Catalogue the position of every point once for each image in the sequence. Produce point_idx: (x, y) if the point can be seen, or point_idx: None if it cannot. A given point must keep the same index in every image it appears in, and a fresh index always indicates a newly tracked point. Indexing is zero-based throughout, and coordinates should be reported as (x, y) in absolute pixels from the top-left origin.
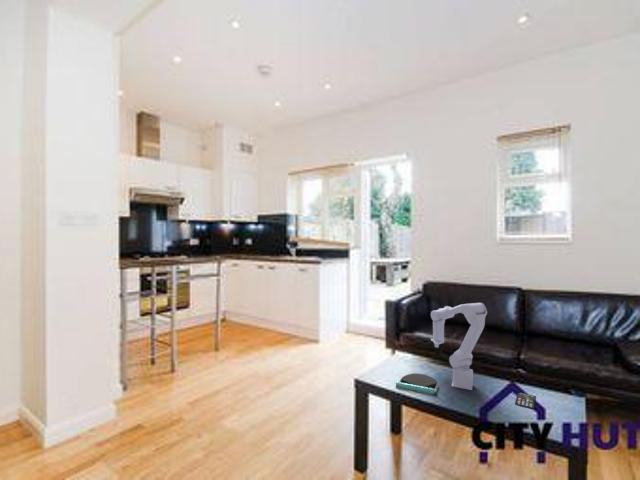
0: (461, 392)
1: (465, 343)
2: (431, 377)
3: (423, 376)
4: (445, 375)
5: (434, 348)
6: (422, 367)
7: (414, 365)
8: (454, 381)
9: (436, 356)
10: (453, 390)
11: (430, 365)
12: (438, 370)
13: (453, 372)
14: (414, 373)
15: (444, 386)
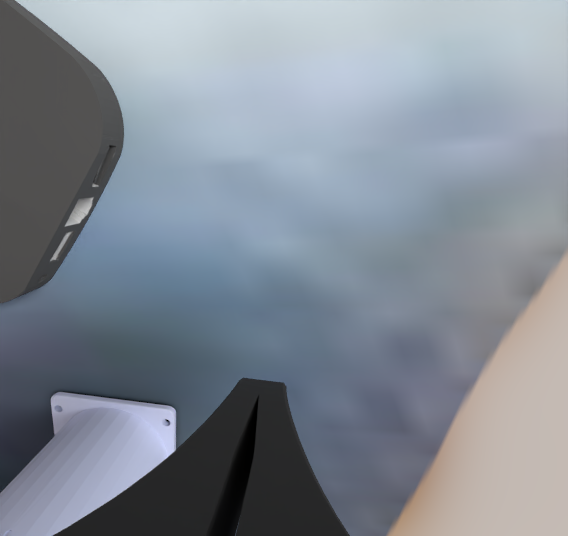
0: (2, 443)
1: None
2: (39, 253)
3: (5, 172)
4: (271, 354)
5: (112, 504)
6: (419, 128)
7: (465, 16)
8: (55, 436)
9: (237, 385)
10: (3, 399)
11: (509, 214)
12: (377, 297)
13: (8, 494)
14: (64, 55)
15: (36, 344)
